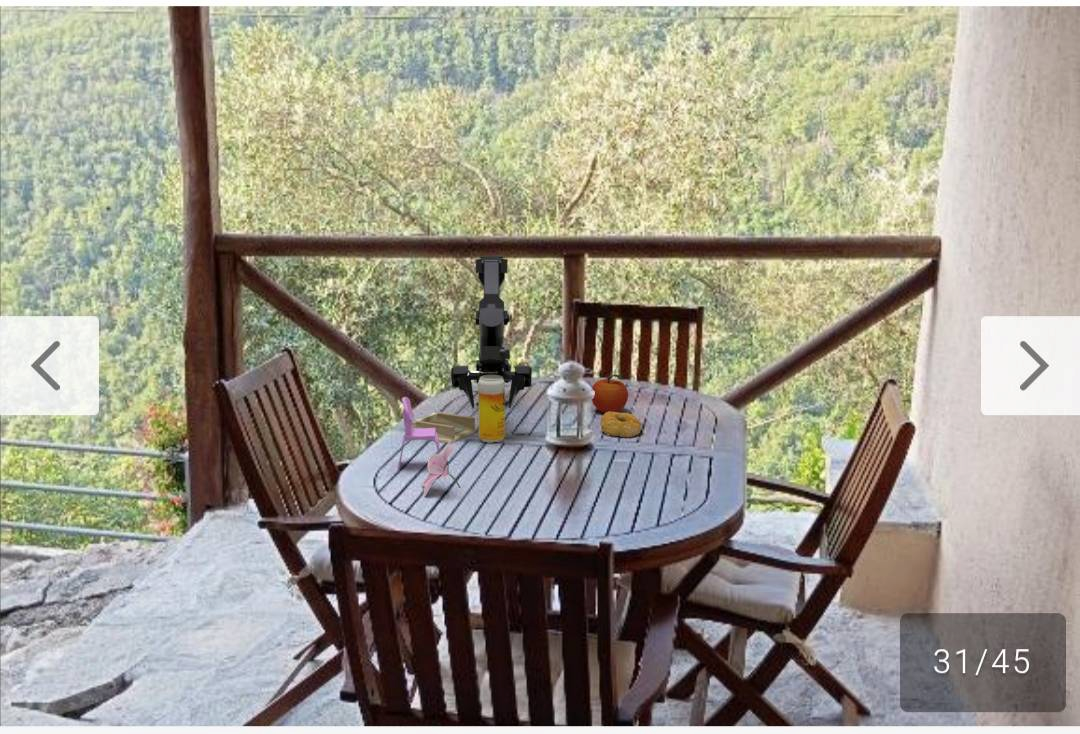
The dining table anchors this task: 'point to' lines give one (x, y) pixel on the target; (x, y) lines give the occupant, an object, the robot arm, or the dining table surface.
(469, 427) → the gold tray
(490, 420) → the beer can
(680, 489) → the dining table surface
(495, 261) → the robot arm
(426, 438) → the toy chair
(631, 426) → the bagel
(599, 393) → the fruit
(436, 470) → the lily
